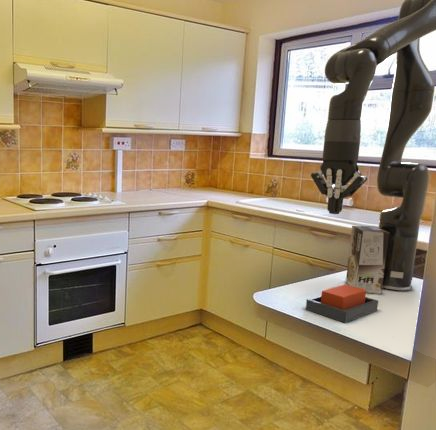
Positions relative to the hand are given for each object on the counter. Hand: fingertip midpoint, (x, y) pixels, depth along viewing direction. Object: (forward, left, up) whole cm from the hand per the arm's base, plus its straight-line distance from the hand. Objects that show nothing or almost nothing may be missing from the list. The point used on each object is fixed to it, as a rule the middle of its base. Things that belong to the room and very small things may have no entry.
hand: (333, 213), depth 109 cm
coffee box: (-17, +1, -21) cm, 27 cm away
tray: (+5, +7, -21) cm, 23 cm away
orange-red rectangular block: (+5, +7, -20) cm, 22 cm away
